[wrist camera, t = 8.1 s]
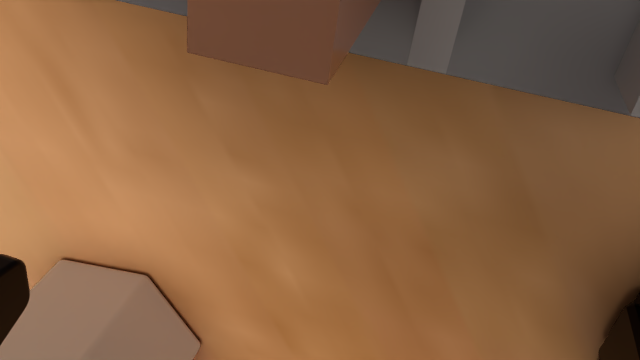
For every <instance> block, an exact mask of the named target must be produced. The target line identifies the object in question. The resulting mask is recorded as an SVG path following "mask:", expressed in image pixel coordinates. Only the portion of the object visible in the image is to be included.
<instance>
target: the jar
mask: <svg viewBox="0 0 640 360" xmlns="http://www.w3.org/2000/svg"><path fill="white" fill-rule="evenodd" d="M199 349H200V342H199V341H198V339H197V338H196V337H195V335H194V334H193V333H192V332H191V330H190V329H189V328H188V327H187V325H186V324H185V323H184V322H183V320H182V319H181V318H180V316H179V315H178V314H177V313H176V311H175V310H174V309H173V308H172V306H171V305H170V304H169V303H168V301H167V300H166V299H165V297H164V296H163V295H162V294H161V292H160V291H159V290H158V289H157V287H156V286H155V285H154V284H153V282H152V281H151V280H150V278H149V277H148V276H146V275H143V274H138V273H132V272H127V271H122V270H117V269H111V268H106V267H101V266H96V265H90V264H85V263H80V262H75V261H69V260H60V261H58V262H57V263H56V264H55V265H54V266H53V267H52V268H51V269H50V270H49V271H48V272H47V273H46V274H45V275H44V276H43V277H42V278H41V279H40V280H39V281H38V282H37V283H36V285H35V286H34V287H33V288H32V289H31V290H30V298H29V302H28V304H27V307H26V308H25V310H24V311H23V313H22V314H21V316H20V317H19V319H18V320H17V322H16V323H15V325H14V326H13V328H12V329H11V331H10V332H9V334H8V335H7V337H6V338H5V340H4V341H3V343H2V344H1V345H0V360H193V359H194V358H195V356H196V354H197V352H198V350H199Z"/></svg>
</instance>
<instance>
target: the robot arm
mask: <svg viewBox="0 0 640 360" xmlns="http://www.w3.org/2000/svg"><path fill="white" fill-rule="evenodd" d="M29 298H30V290H29V284H28V278H27V271H26V266H25V264H24V262H23V261H22V260H19V259H17V258H14V257H11V256H8V255H4V254H0V345H1V344H2V343H3V341H4V340H5V338H6V337H7V335H8V334H9V332H10V331H11V329H12V328H13V326H14V325H15V323H16V322H17V320H18V319H19V317H20V316H21V314H22V313H23V311H24V310H25V308H26V307H27V304H28V302H29ZM599 360H640V293H639V294H638V296H637V298H636V299H635V301H634V303H630V304H629V305H627V306H625V308H624V309H623V311H622V313H621V314H620V316H619V318H618V319H617V321H616V323H615V324H614V326H613V328H612V329H611V331H610V333H609V334H608V336H607V338H606V339H605V341H604V343H603V344H602V346H601V348H600V349H599Z"/></svg>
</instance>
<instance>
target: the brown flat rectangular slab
mask: <svg viewBox="0 0 640 360" xmlns="http://www.w3.org/2000/svg"><path fill="white" fill-rule="evenodd" d="M380 1H381V0H187V52H188V53H192V54H196V55H201V56H205V57H209V58H213V59H218V60H222V61H226V62H231V63H235V64H239V65H244V66H248V67H252V68H257V69H261V70H265V71H270V72H274V73H278V74H283V75H287V76H291V77H295V78H300V79H304V80H308V81H313V82H317V83H321V84H326V85H328V84H329V82H330V80H331V79H332V77H333V76H334V74H335V72H336V71H337V69H338V68H339V66H340V65H341V63H342V61H343V60H344V58H345V57H346V55H347V53H348V52H349V50H350V49H351V47H352V45H353V44H354V42H355V41H356V39H357V37H358V36H359V34H360V33H361V31H362V30H363V28H364V26H365V25H366V23H367V22H368V20H369V18H370V17H371V15H372V14H373V12H374V10H375V9H376V7H377V6H378V4H379V3H380Z"/></svg>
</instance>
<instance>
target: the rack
mask: <svg viewBox="0 0 640 360" xmlns="http://www.w3.org/2000/svg"><path fill="white" fill-rule="evenodd" d="M117 1H122V2H126V3H130V4H135V5H139V6H144V7H148V8H153V9H157V10H162V11H166V12H170V13H175V14H179V15H184V16H187V0H117ZM349 53H353V54H357V55H362V56H366V57H371V58H375V59H380V60H384V61H389V62H393V63H397V64H402V65H406V66H411V67H415V68H420V69H424V70H429V71H433V72H438V73H442V74H446V75H451V76H455V77H460V78H464V79H469V80H473V81H478V82H482V83H486V84H491V85H495V86H500V87H504V88H509V89H513V90H518V91H522V92H527V93H531V94H535V95H540V96H544V97H549V98H553V99H558V100H562V101H567V102H571V103H576V104H580V105H584V106H589V107H593V108H598V109H602V110H607V111H611V112H616V113H620V114H624V115H629V116H633V117H638V118H640V0H381V1H380V3H379V4H378V6H377V7H376V9H375V10H374V12H373V14H372V15H371V17H370V18H369V20H368V22H367V23H366V25H365V26H364V28H363V30H362V31H361V33H360V34H359V36H358V37H357V39H356V41H355V42H354V44H353V45H352V47H351V49H350V50H349Z"/></svg>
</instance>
